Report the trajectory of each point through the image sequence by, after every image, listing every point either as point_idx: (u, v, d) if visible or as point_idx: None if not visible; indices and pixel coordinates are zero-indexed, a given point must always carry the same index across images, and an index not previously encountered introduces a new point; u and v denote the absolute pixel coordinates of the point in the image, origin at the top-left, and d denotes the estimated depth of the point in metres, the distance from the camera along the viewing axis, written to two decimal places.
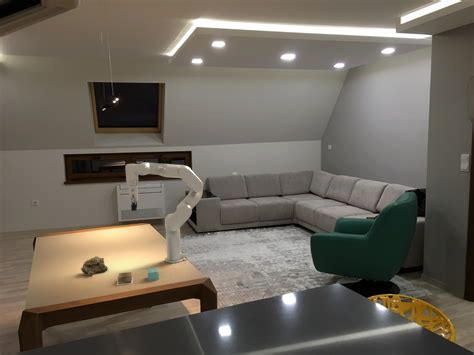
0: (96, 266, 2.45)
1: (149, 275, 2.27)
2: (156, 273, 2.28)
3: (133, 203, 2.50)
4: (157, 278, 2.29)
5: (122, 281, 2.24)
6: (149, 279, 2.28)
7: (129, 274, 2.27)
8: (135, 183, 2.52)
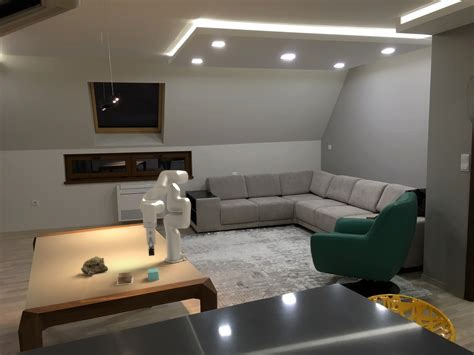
0: (96, 266, 2.45)
1: (149, 275, 2.27)
2: (156, 273, 2.28)
3: (151, 247, 2.22)
4: (157, 278, 2.29)
5: (122, 281, 2.24)
6: (149, 279, 2.28)
7: (129, 274, 2.27)
8: (153, 225, 2.24)
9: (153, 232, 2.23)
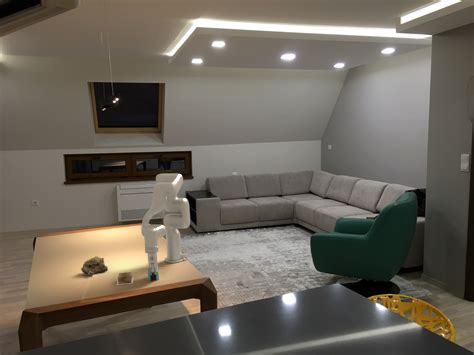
0: (96, 266, 2.45)
1: (149, 275, 2.27)
2: (156, 273, 2.28)
3: (153, 274, 2.26)
4: (157, 278, 2.29)
5: (122, 281, 2.24)
6: (149, 279, 2.28)
7: (129, 274, 2.27)
8: (155, 250, 2.26)
9: (155, 257, 2.25)
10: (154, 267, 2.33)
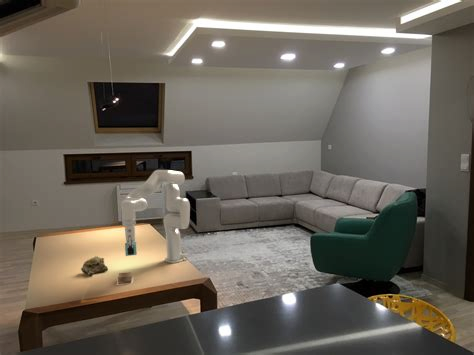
0: (96, 266, 2.45)
1: (126, 248, 2.23)
2: (134, 246, 2.24)
3: (130, 246, 2.21)
4: (135, 251, 2.24)
5: (122, 281, 2.24)
6: (126, 252, 2.23)
7: (129, 274, 2.27)
8: (132, 222, 2.22)
9: (132, 230, 2.21)
10: (132, 241, 2.29)
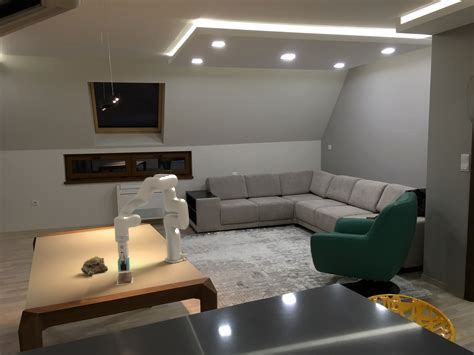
0: (96, 266, 2.45)
1: (119, 264, 2.23)
2: (126, 262, 2.24)
3: (123, 263, 2.21)
4: (127, 267, 2.24)
5: (122, 281, 2.24)
6: (119, 268, 2.23)
7: (129, 274, 2.27)
8: (125, 239, 2.22)
9: (125, 246, 2.21)
10: (125, 256, 2.29)
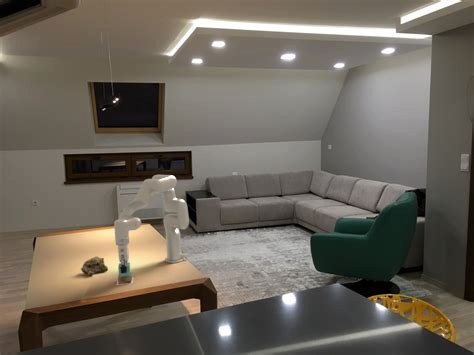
0: (96, 266, 2.45)
1: (120, 269, 2.24)
2: (127, 267, 2.24)
3: (123, 265, 2.20)
4: (128, 272, 2.25)
5: (122, 281, 2.24)
6: (120, 273, 2.24)
7: None
8: (125, 242, 2.22)
9: (125, 249, 2.21)
10: None
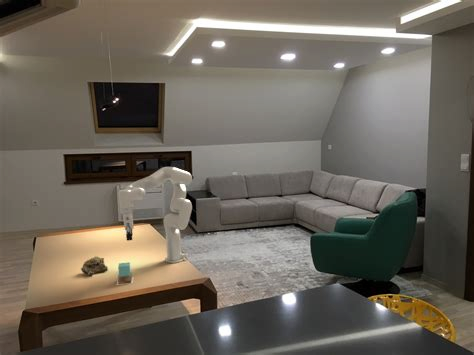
0: (96, 266, 2.45)
1: (120, 269, 2.24)
2: (127, 267, 2.24)
3: (128, 233, 2.30)
4: (128, 272, 2.25)
5: (122, 281, 2.24)
6: (120, 273, 2.24)
7: None
8: (130, 210, 2.32)
9: (130, 218, 2.31)
10: None
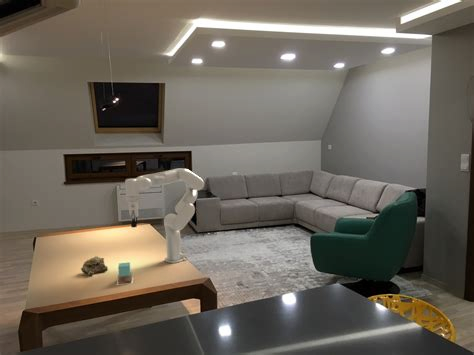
0: (96, 266, 2.45)
1: (120, 269, 2.24)
2: (127, 267, 2.24)
3: (133, 219, 2.41)
4: (128, 272, 2.25)
5: (122, 281, 2.24)
6: (120, 273, 2.24)
7: None
8: (135, 199, 2.43)
9: (135, 205, 2.42)
10: None
